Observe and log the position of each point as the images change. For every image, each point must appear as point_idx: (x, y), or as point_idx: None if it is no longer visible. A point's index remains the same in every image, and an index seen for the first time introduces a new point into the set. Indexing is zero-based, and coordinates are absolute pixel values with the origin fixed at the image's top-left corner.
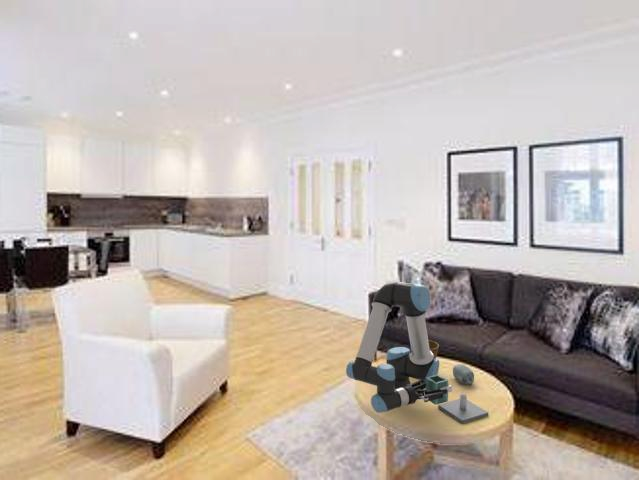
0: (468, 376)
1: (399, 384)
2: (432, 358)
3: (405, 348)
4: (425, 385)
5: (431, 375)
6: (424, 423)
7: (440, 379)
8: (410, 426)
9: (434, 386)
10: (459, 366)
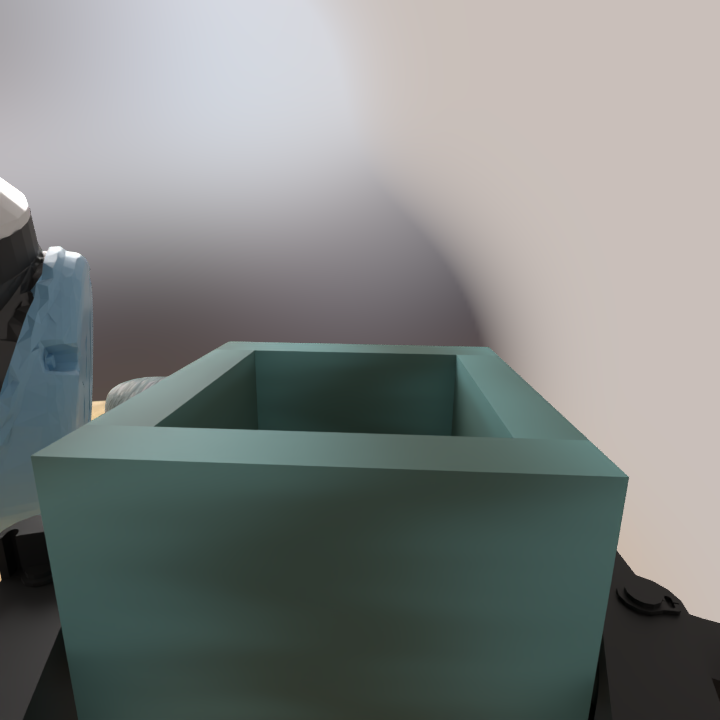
0: None
1: None
2: (21, 206)
3: None
4: (65, 707)
5: (66, 430)
6: None
7: (333, 391)
8: None
9: (517, 602)
10: (140, 384)
